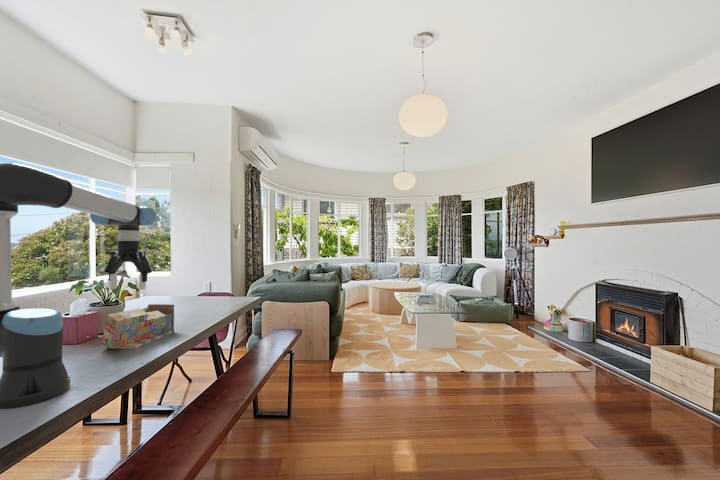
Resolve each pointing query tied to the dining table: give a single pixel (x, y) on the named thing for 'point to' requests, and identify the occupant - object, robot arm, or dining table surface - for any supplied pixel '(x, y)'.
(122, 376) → the dining table surface
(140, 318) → the stack of blocks
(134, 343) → the alphabet block box
